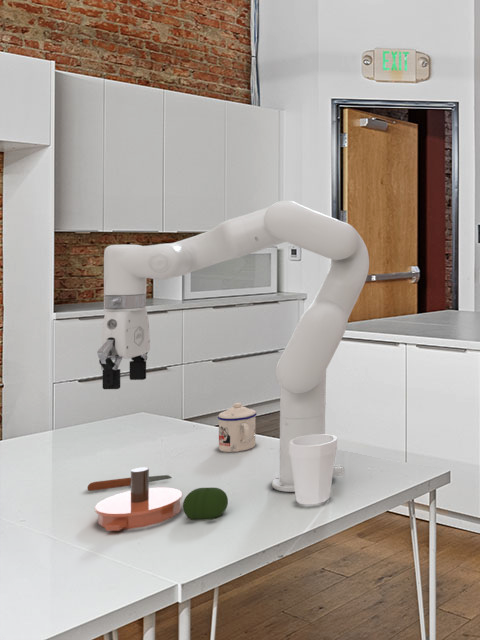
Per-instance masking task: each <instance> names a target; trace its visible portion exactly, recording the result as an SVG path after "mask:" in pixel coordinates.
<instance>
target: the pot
mask: <svg viewBox="0 0 480 640" xmlns="http://www.w3.org/2000/svg"><path fill="white" fill-rule="evenodd" d="M181 508H182V499H181V500H180V501H179V502H178V503H176V504H174V505H172V506H170V507H168V508H165V509H162V510H159V511H156V512H152V513H147V514H142V515H136V516H127V517H107V516H101V515H98V514H97V524H98V525H100V526H101V527H102V528H104V529H105V531H106V532H108V531H109V532H110V531H111V532H112V531H113V532H115V531H121V530H131V529H135V528H136V529H137V528H143V527H148V526H152V525H155V524H159V523H163V522H165V521H167V520H169V519H172V518H174V517H176V516H177V515H179V513H180V512H181Z"/></svg>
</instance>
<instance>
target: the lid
mask: <svg viewBox="0 0 480 640" xmlns="http://www.w3.org/2000/svg"><path fill="white" fill-rule="evenodd" d="M130 477H131V486H130V490H127V491H123V492H119V493H116V494H113V495H111V496H108V497H106V498H104V499H102V500H100V501H99V502H97V503H96V504H95V506H94V512H95V514H97V516H98V515H101V516H107V517H127V516H136V515H142V514H147V513H152V512H156V511H159V510H162V509H165V508H168V507H170V506H172V505H174V504H176V503H178V502H179V501H180V500H181V501H182V499H183V492H182V491H181V490H180V489H178V488H173V487H163V486H162V487H161V486H159V487H150V482H149V477H150V468H149V467H146V466H142V467H135V468H133V469H131V470H130Z"/></svg>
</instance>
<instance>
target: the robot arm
mask: <svg viewBox="0 0 480 640" xmlns="http://www.w3.org/2000/svg"><path fill="white" fill-rule="evenodd" d="M284 243H288V244H291V245H293V246H296V247H298V248H301V249H303V250H306V251H309V252H311V253H314V254H317V255H319V256H322V257H324V258H327V259H330V265H329V268H328V271H327V273H326V275H325V277H324V278H323V281H322V283H321V285H320V287H319V290H318V291H317V293H316V295H315V297H314V298H313V301H312V302H311V304H310V305H309V306H308V307H307V308H306V309H305V311H304V312H303V314H302V315H301V317H300V319H299V321H298V323H297V325H296V326H295V329H294V330H293V332H292V335H291V336H290V339H289V341H288V342H287V344H286V347H285V348H284V350H283V351H282V354H281V356H280V358H279V360H277V361H278V362H277V363H276V368H275V377H276V379H277V383H278V385H279V386H280V391H279V393H280V394H279V475H277V476H275V477H274V478H273V479H272V481H271V487H272V489H274V490H276V491H279V492H285V493H295V487H294V480H293V473H292V465H291V458H290V454H289V442H290V440H292V439H294V438H296V437H300V436H305V435H312V434H326V406H327V405H326V398H327V397H326V394H327V393H326V391H327V369H328V367H329V365H330V363H331V361H332V359H333V357H334V355H335V353H336V351H337V349H338V347H339V345H340V343H341V341H342V339H343V337H344V335H345V333H346V330H347V326H348V320H349V318H350V316H351V313H352V311H353V309H354V307H355V305H356V303H357V301H358V299H359V297H360V295H361V292H362V291H363V288H364V285H365V283H366V281H367V278H368V275H369V269H370V256H369V255H370V254H369V251H368V247H367V245H366V243H365V240H363V238H362V236H361V234H359V232H358V231H357V230H356V229H355V227H354V226H353V225H351V224H350V223H347V222H344V221H342V220H339V219H337V218H334V217H331V216H329V215H326V214H324V213H321V212H320V211H319V212H318V211H317V210H313V209H311V208H309V207H306V206H304V205H302V204H301V203H298V202H295V201H293V200H287V199H284V200H279V201H276V202H274V203H273V204H271V205H270V206H267V207H264V208H261V209H259V210H255V211H252V212H249V213H246V214H243V215H239V216H236V217H233V218H230V219H227V220H225V221H222V222H221V223H219V224H218V225H217V226H215V227H214V228H211V229H210V230H208V231H204V232H202V233H199V234H196V235H194V236H191V237H187V238H184V239H181V240H177V241H175V242H170V243H158V244H151V245H140V244H111V245H108V246H106V247H105V248H104V250H103V251H104V252H103V311H104V317H103V323H102V336H101V347H100V348H98V349H97V356H98V359H99V360H98V363H99V365H100V370H101V371H102V389H103V390H119V389H121V369H120V368H119V367H120V365H121V362H122V360H123V359H125V360H129V359H130V361H129V380H130V381H143V380H144V381H145V380H147V360H148V353H149V351H150V350H151V338H150V336H151V335H150V326H149V325H150V323H149V316H148V311H147V279H154V280H169V279H173V278H179V277H181V276H184V275H187V274H190V273H192V272H196V271H199V270H202V269H205V268H208V267H211V266H213V265H217V264H220V263H222V262H227V261H231V260H236V259H239V258H242V257H245V256H249V255H251V254H253V253H258V252H260V251H262V250H265V249H268V248H272V247H275V246H277V245H280V244H284ZM344 473H345V468H344V466H342V464H334V469H333V476H334V477H343V476H344Z"/></svg>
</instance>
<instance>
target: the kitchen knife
mask: <svg viewBox="0 0 480 640" xmlns="http://www.w3.org/2000/svg"><path fill="white" fill-rule="evenodd" d="M170 479H172V476H170V475H169V474H164V475H149V483H153V482H158V481H164V480H170ZM122 487H131V476H129V477H123V478H115V479H108V480H107V479H106V480H98V481H91V482H90V483H89V484H88V485H87V490H88V491H100V490H108V489H113V488H122Z"/></svg>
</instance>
